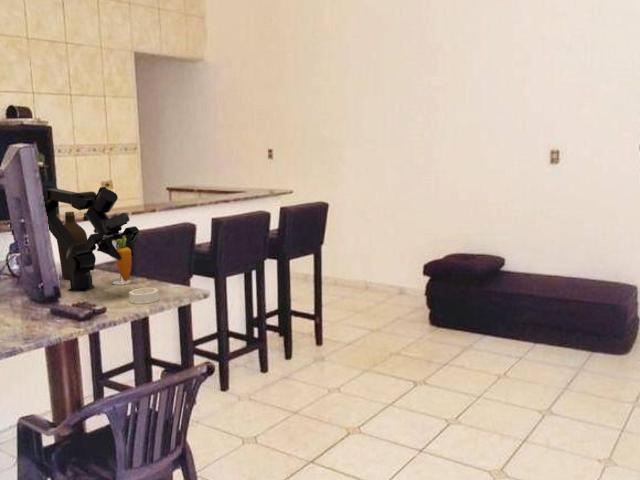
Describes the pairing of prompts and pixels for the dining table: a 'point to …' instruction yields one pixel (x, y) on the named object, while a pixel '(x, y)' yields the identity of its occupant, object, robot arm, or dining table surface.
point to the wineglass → (116, 260)
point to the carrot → (124, 259)
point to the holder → (144, 295)
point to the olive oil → (76, 233)
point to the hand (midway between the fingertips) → (126, 257)
